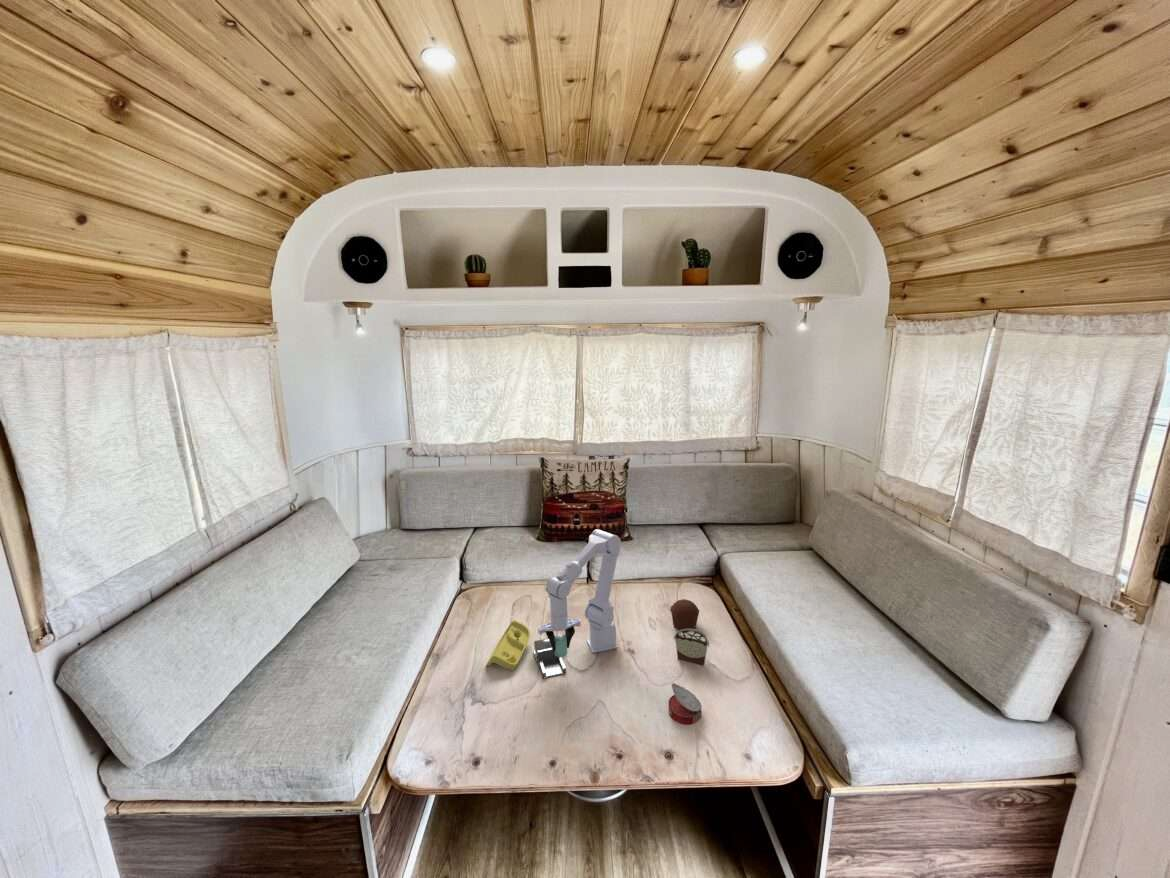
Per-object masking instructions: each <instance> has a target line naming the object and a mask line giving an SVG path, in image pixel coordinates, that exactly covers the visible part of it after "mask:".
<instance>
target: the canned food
mask: <svg viewBox="0 0 1170 878" xmlns="http://www.w3.org/2000/svg"><path fill="white" fill-rule="evenodd" d="M671 688H672V692H673V693H674V694H673V695H672V696H670V698H669V700H668V715H669V716H670V718H671V719H672V720H673V721H674V722H676V723H678V724H680V725H685V726H690V725H694V724H695V725H696V723H698V722H699V721H700V720H701V718H702V703H701V701H700V700H699V699H698V698H697V696H696V695H695V694H694V693H692V692H691V691H690V690H689V689H686V687H684V686H681V685H679V684H677V683H676V682H675V683H674V682H672V684H671Z"/></svg>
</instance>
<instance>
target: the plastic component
mask: <svg viewBox="0 0 1170 878" xmlns="http://www.w3.org/2000/svg"><path fill="white" fill-rule="evenodd" d="M530 639H531V630H530V629H529V628H528V627H527V625H525V624H523V623H521V622H519V621H518V620H511V622H510V624H509V625H508V627H507V629H506V630H505V631H504V632H503V635H502V636H501V637H500V639H499V641H498V642H497V644H496V646H495V648H494V649H493V651H492V653H491V655H490V657H489V659H488V661H486V664H485V666H486V667H490V666H491V665H492V664H493V663H494V664H496V665H498V666H500V667H503V668H504V669H506V670H508V671H513V670H516V668H517V666H518V663H519V662H520V660H521V658H522V655H523V653H524V651H525V649H526V647H527V645H528V643H529V641H530Z"/></svg>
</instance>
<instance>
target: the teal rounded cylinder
mask: <svg viewBox="0 0 1170 878" xmlns="http://www.w3.org/2000/svg"><path fill="white" fill-rule="evenodd" d="M554 636H555V651H554V653H555V656H557V657H562V658H564V657H566V656H567V655H568V648H567V636H566V635H565V633H557V634H554Z"/></svg>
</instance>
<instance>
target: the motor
mask: <svg viewBox="0 0 1170 878" xmlns="http://www.w3.org/2000/svg"><path fill="white" fill-rule="evenodd" d="M533 646H534V647H533V655H534V658H536V659H535V661H537V662H538V667H539V670H540V672H541V676H542V675H543V676H542V679H545V678H544V677H547V678H550V677H549V676H552V677H554V676H553V675H556V676H558V675H557V674H560V675H563V674H562V673H565V674H567V667H566V665H565V663H564V660H563V657H557V656H555V653H554V651H553V650H552V647H551V643H550V640H549V639H548V637H547V638H543V639H539V640H534V641H533ZM537 662H536V663H537Z"/></svg>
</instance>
